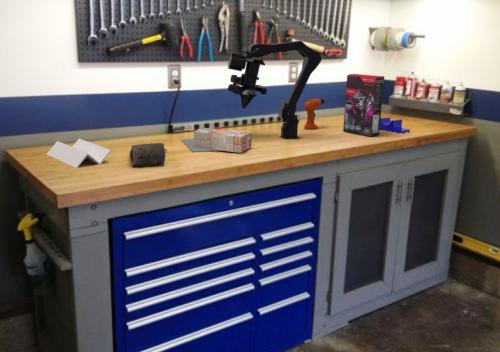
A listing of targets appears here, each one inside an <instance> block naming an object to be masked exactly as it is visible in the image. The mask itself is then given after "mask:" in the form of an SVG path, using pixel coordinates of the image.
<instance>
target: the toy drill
mask: <svg viewBox="0 0 500 352" xmlns="http://www.w3.org/2000/svg"><path fill="white" fill-rule="evenodd" d="M327 101H330V98H326V99H323V98H321V99H319V98H314V99H312V98H310V99H308V100H307V101H306V102H305V103H304V106H303V107H304V111H306V114H307V117H306V118H307V119H306V123H305V124H304V126H303V129H304V130H307V131H310V130H317V129H318V125H316V124H315V119H316V118H315V117H316V114H315V110H317V108H320V107H321V106H322V105H323V104H324V103H326V102H327Z"/></svg>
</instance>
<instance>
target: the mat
mask: <svg viewBox="0 0 500 352" xmlns="http://www.w3.org/2000/svg"><path fill="white" fill-rule="evenodd" d="M180 141H182V143H183V144H184V145H185V146H186V147H187V148H188V149H189V150H190V151H191V152H192V153H205V152H207V153H208V152H222V151H221V150H212V148H204V147H194V138H184V139H183V138H182V139H180Z"/></svg>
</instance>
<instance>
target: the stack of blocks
mask: <svg viewBox="0 0 500 352" xmlns="http://www.w3.org/2000/svg"><path fill="white" fill-rule="evenodd" d="M252 134H253V133H252V132H251V131H244V130H234V129H221V128H220V129H217V128H210V127H209V128H208V127H202V128H199V129H197V130H194V131H193V139H194V147H204V148H212V150H221V151H220V152H230V153H231V152H232V153H240V154H242V153H244V152H245V151H247V150H249V149H250V148H252V140H253V139H252V136H253V135H252Z"/></svg>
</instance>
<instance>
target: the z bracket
mask: <svg viewBox="0 0 500 352" xmlns="http://www.w3.org/2000/svg"><path fill="white" fill-rule="evenodd" d="M111 151H112V150H111V149H109V148H107V147H103V146H100V145H98V144H95V143H93V142H90V141H88V140H87V141H86V140H83V139H82V138H78V139H77V140H76V142H75V143H74V144H73V145H72V146H71V145H68V144H66V143H63V142H61V141H58V140H57V141H55V143H54V144H53V145H52V147H51V148H50V149H49V150H48V152H47V153H46V155H47V156H49V157H51V158H53V159H56V160H58V161H60V162H62V163H64V164H66V165H68V166H70V167H74V168H75V169H77V168H79V166H80V165H81V164H82V162H83V161H84V160H88V161H91V162H92V163H95V164H98V165H102V163H103V162H104V161H105V160H106V158H107V157H108V155H110V153H111Z"/></svg>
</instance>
